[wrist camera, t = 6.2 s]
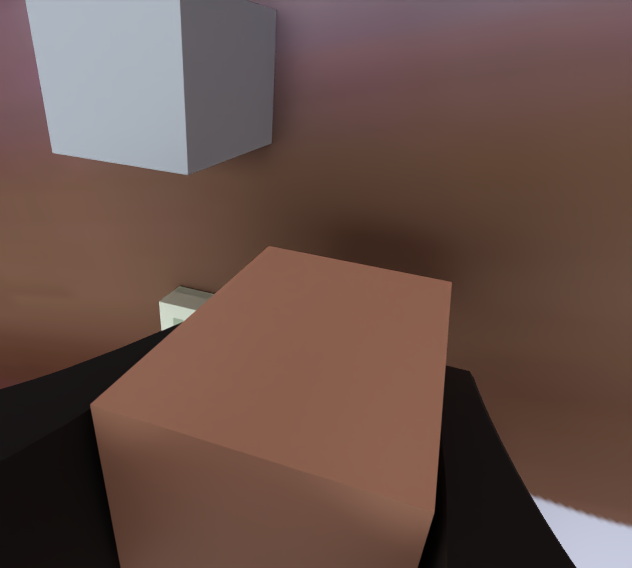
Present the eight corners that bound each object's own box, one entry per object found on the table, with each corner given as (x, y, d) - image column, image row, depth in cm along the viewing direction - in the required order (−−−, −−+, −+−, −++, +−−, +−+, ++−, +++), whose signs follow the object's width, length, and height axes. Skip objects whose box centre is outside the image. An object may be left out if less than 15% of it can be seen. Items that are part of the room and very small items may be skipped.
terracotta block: (451, 282, 9) (435, 512, 4) (416, 428, 11) (375, 704, 6) (268, 245, 10) (89, 404, 5) (263, 387, 12) (126, 599, 7)
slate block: (276, 9, 14) (178, -21, 9) (272, 143, 16) (188, 174, 11) (163, 2, 15) (20, -30, 10) (171, 128, 17) (52, 152, 12)
